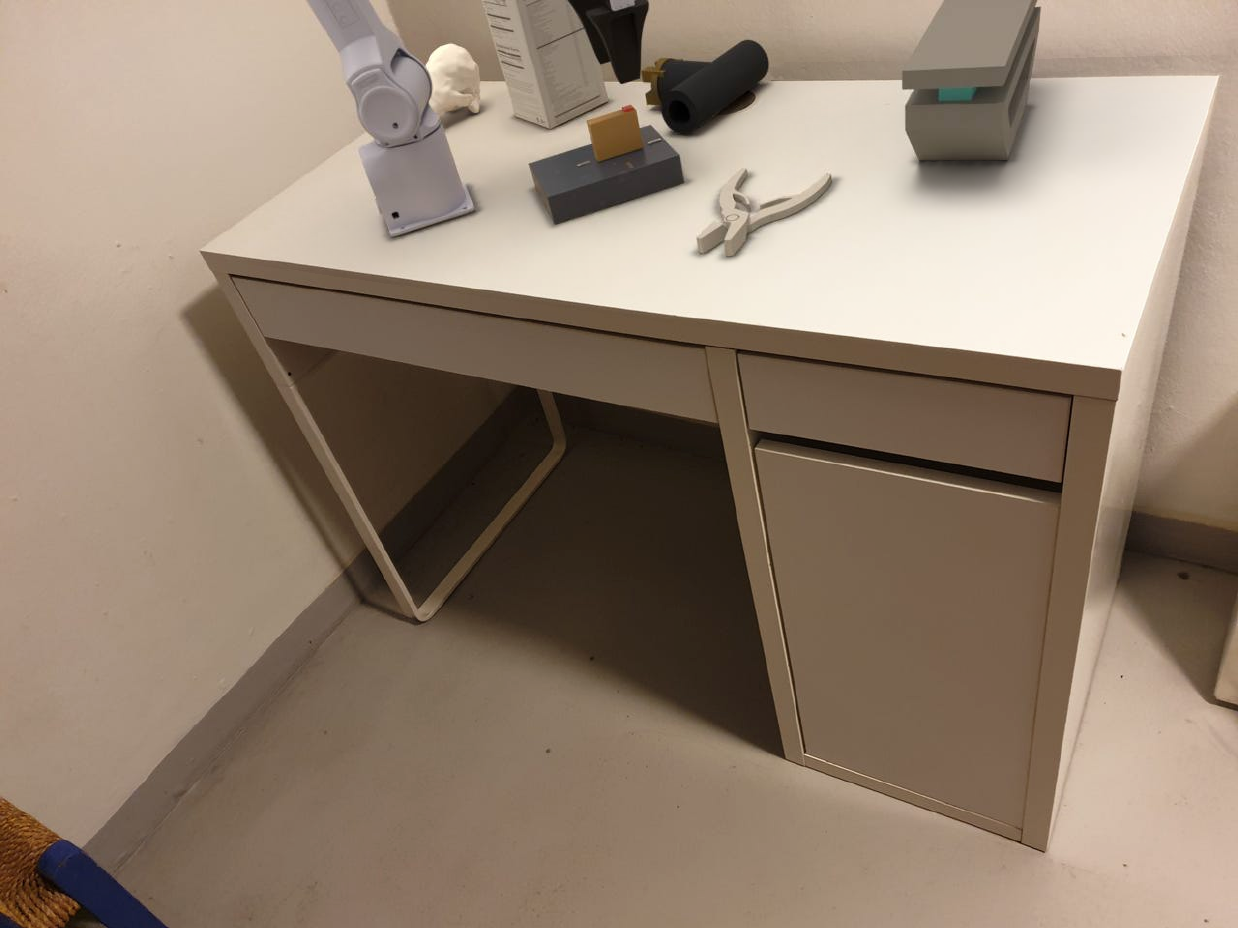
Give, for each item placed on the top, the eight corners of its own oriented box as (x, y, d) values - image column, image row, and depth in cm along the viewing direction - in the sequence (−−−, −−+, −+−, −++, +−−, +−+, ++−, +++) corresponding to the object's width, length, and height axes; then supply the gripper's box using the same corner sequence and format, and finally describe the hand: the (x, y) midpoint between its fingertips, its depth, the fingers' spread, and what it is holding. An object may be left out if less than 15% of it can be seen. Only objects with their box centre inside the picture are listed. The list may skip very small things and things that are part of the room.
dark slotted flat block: (554, 224, 91) (546, 195, 89) (535, 189, 99) (527, 162, 97) (684, 183, 92) (679, 153, 90) (655, 151, 100) (650, 123, 98)
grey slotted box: (955, 84, 97) (959, -27, 90) (1035, 81, 93) (1045, -35, 86) (902, 194, 81) (902, 71, 74) (995, 195, 78) (1004, 66, 71)
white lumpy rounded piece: (472, 38, 118) (410, 83, 112) (496, 100, 123) (438, 146, 118) (440, 37, 121) (378, 81, 116) (464, 98, 127) (406, 142, 121)
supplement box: (572, 90, 121) (539, -49, 110) (611, 101, 115) (580, -44, 104) (512, 117, 118) (472, -23, 107) (549, 130, 111) (510, -17, 101)
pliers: (833, 165, 85) (763, 244, 76) (834, 180, 86) (765, 260, 77) (739, 160, 90) (664, 233, 81) (741, 175, 91) (667, 249, 82)
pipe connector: (612, 84, 103) (685, 35, 111) (620, 129, 107) (691, 79, 114) (694, 90, 97) (766, 39, 105) (700, 138, 100) (770, 85, 108)
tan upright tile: (598, 162, 93) (589, 122, 90) (595, 158, 94) (585, 118, 91) (643, 148, 93) (635, 107, 91) (640, 143, 94) (632, 103, 92)
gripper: (654, -84, 77) (679, 77, 86) (609, -102, 88) (635, 42, 97) (576, -61, 76) (609, 99, 85) (540, -82, 88) (573, 61, 96)
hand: (619, 70), depth 91 cm, fingers open, 7 cm apart
